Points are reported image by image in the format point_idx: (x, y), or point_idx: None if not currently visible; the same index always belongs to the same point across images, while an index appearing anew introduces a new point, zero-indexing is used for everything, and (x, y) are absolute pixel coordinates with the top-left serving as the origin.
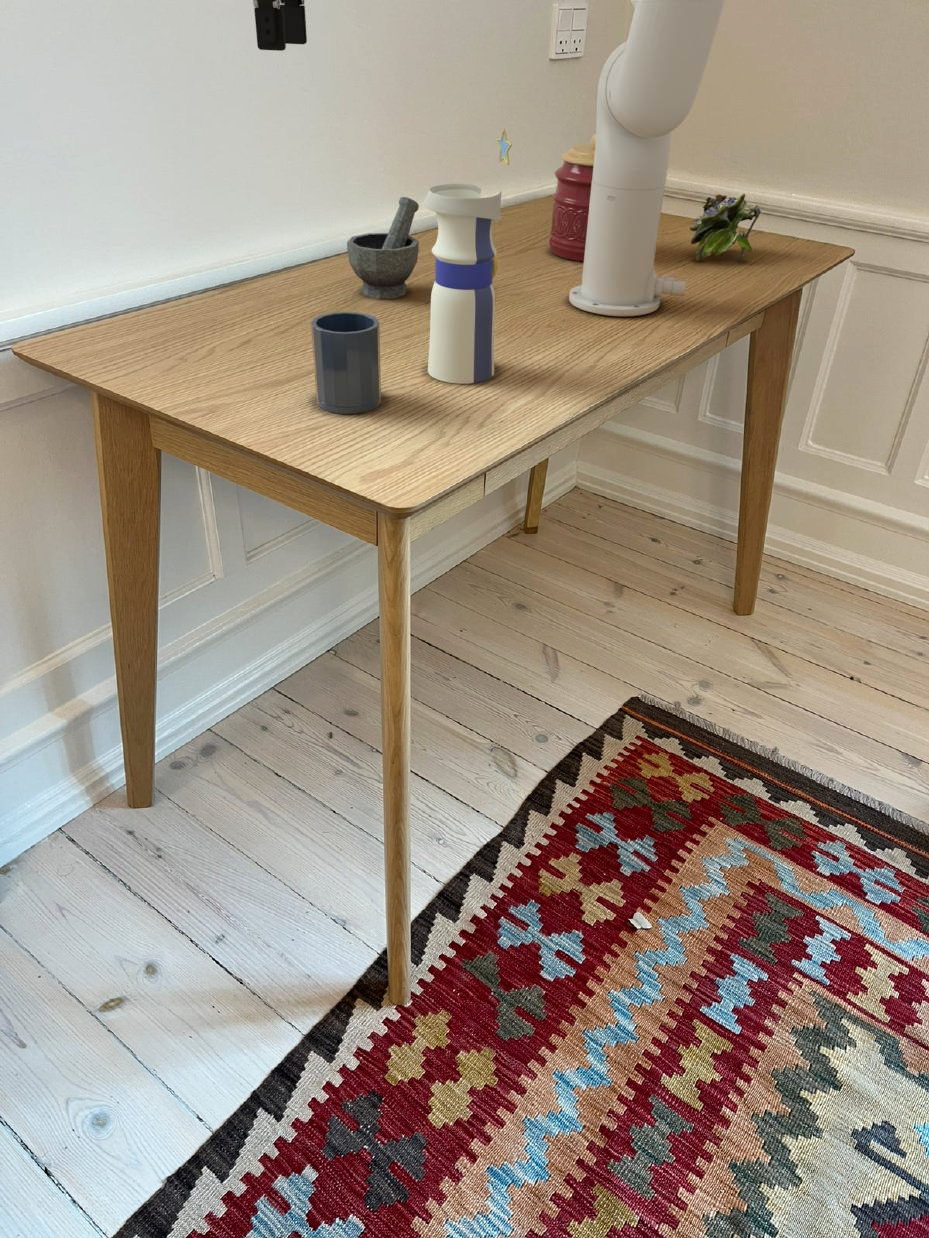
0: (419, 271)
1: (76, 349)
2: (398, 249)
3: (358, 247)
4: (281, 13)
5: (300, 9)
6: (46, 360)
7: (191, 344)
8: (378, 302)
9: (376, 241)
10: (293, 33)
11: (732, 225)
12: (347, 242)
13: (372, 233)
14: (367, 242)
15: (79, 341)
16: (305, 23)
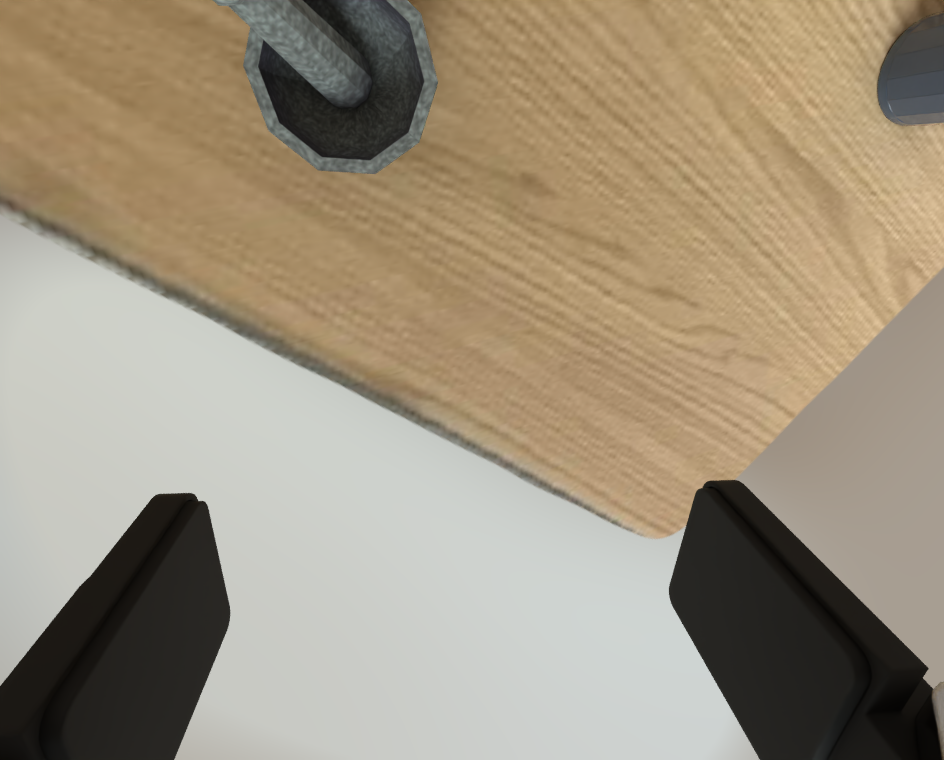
0: (152, 14)
1: (682, 483)
2: (413, 14)
3: (418, 134)
4: (891, 646)
5: (78, 718)
6: None
7: (668, 364)
8: None
9: (277, 107)
10: (191, 600)
11: None
12: (375, 172)
13: (266, 118)
14: (294, 132)
15: (654, 491)
16: (91, 587)
